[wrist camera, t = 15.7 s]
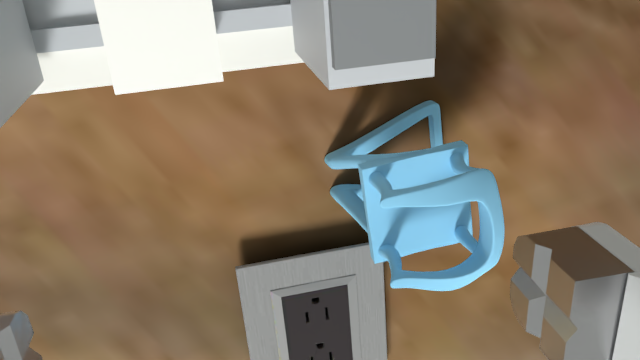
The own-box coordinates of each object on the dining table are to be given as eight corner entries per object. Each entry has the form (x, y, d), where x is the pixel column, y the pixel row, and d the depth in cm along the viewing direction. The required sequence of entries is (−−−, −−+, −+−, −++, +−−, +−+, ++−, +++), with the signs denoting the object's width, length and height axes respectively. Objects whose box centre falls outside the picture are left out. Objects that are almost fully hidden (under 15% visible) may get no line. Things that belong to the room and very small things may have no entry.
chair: (318, 124, 39) (366, 199, 28) (435, 98, 40) (525, 161, 29) (334, 223, 42) (384, 325, 31) (442, 197, 43) (526, 287, 32)
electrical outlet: (233, 253, 42) (236, 271, 40) (374, 228, 43) (383, 244, 41) (256, 391, 47) (259, 413, 45) (380, 364, 49) (389, 384, 47)
